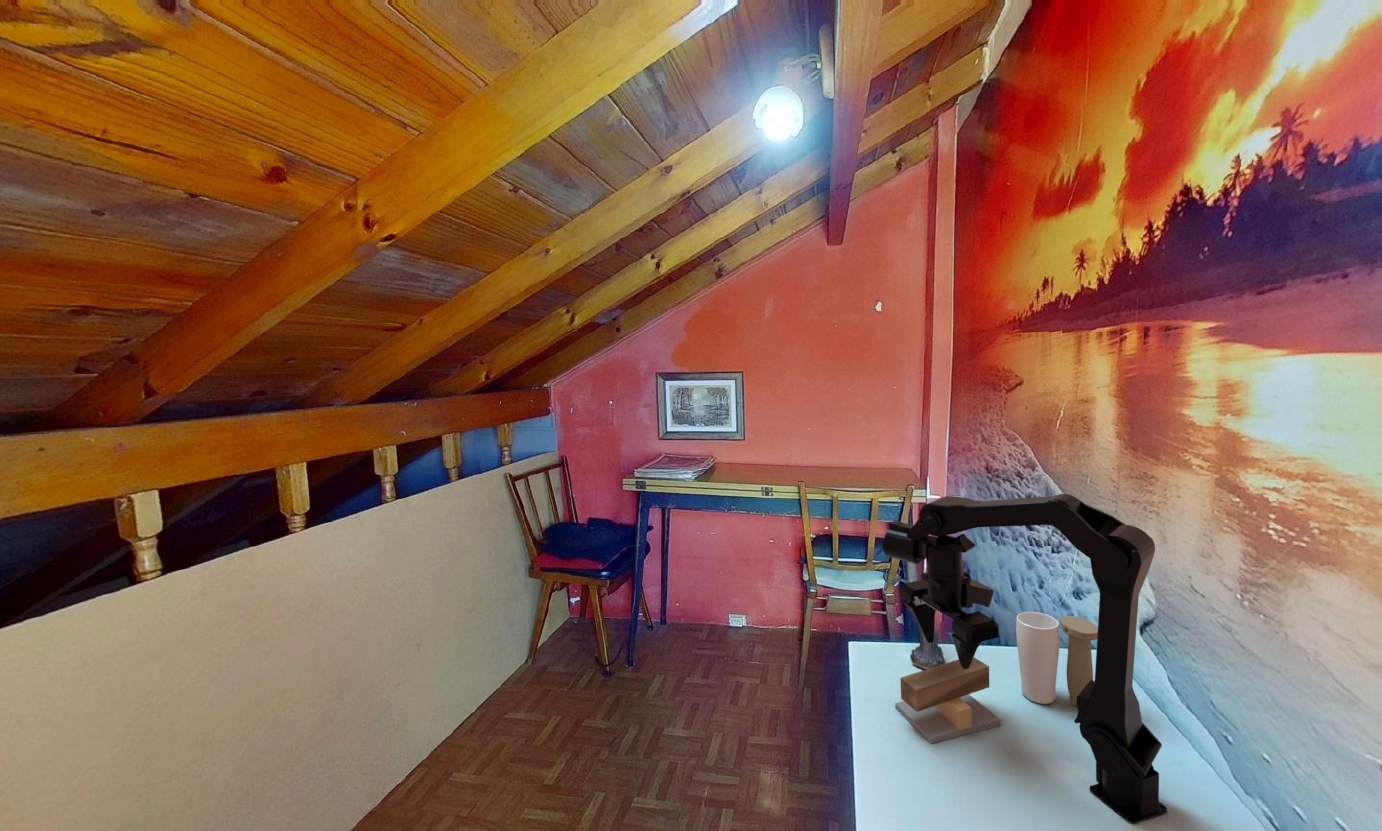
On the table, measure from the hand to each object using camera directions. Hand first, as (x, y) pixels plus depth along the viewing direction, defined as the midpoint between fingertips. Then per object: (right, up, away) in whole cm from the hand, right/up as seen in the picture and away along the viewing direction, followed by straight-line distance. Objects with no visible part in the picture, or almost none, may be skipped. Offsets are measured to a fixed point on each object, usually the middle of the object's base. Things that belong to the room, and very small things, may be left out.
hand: (947, 654), depth 99 cm
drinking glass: (+19, -10, +5) cm, 22 cm away
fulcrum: (+1, -12, +2) cm, 12 cm away
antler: (+4, -10, +21) cm, 23 cm away
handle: (+25, -10, +2) cm, 27 cm away
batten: (0, -7, +1) cm, 7 cm away
